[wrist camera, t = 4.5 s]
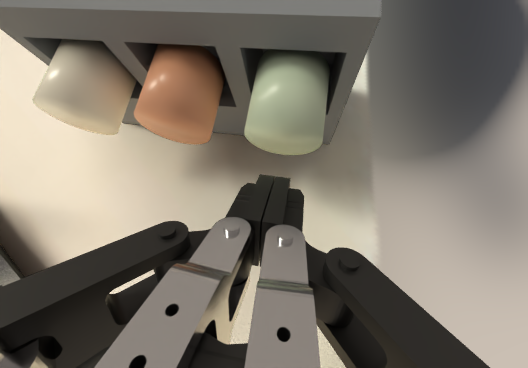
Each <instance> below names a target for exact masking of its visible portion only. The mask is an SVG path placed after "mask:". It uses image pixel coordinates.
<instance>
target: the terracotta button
mask: <svg viewBox="0 0 528 368" xmlns="http://www.w3.org/2000/svg"><path fill="white" fill-rule="evenodd" d="M224 81H225V73H224V70H223V67H222V65H221V63H220V62H219V61H218V59H217V58H216V57H215V56H214V55H213V54H212V53H210V52H209V51H208V50H206V49H205V48H203V47H202V46H199V45H178V44H158V46H157V48H156V51H155V54H154V57H153V59H152V62H151V65H150V68H149V71H148V74H147V76H146V79H145V82H144V85H143V88H142V91H141V93H140V96H139V99H138V102H137V105H136V108H135V110H134V116H135V118H136V120H137V121H138V122H139V123H140V124H141V125H142V126H143V127H145V128H146V129H148V130H149V131H151V132H153V133H155V134H157V135H159V136H161V137H164V138H166V139H169V140H172V141H176V142H180V143H185V144H196V145H197V144H204V143H207V142H208V141H209V140H210V138H211V134H212V130H213V126H214V122H215V118H216V114H217V110H218V106H219V102H220V98H221V94H222V89H223V85H224Z"/></svg>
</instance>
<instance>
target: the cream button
mask: <svg viewBox="0 0 528 368" xmlns="http://www.w3.org/2000/svg"><path fill="white" fill-rule="evenodd" d="M136 81H137V79H136V78H135V77H134V76H133V75H132V74H131V73H130V72H129V70H128V69H127V68H126V67H125V66H124V65H123V64H122V63H121V61H120V60H119V59H118V58H117V57H116V56H115V55H114V54H113V52H112V51H111V50H110V49H109V48H108V47H107V46H106V45H105V44H104V43H102V42H100V41H96V40H75V39H62V40H61V42H60V44H59V46H58V48H57V50H56V52H55V54H54V56H53V58H52V60H51V63H50V65H49V67H48V69H47V71H46V73H45V75H44V77H43V79H42V81H41V83H40V85H39V87H38V89H37V91H36V93H35V95H34V97H33V99H32V100H33V103H34V104H35V105H36V106H37V107H38V108H39V109H41V110H42V111H44V112H45V113H47V114H49V115H50V116H52V117H54V118H56V119H58V120H60V121H62V122H64V123H67V124H69V125H72V126H74V127H77V128H80V129H83V130H86V131H90V132H93V133H98V134H104V135H115V134H117V133H118V131H119V128H120V125H121V123H122V120H123V117H124V114H125V112H126V109H127V106H128V103H129V101H130V98H131V95H132V92H133V90H134V87H135V84H136Z"/></svg>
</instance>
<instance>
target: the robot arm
mask: <svg viewBox="0 0 528 368" xmlns="http://www.w3.org/2000/svg"><path fill="white" fill-rule="evenodd" d="M289 187H290V178H283V177H275V176H268V175H259V178H258V180H257V182H256V184H253V183H247V184H246V185H244V186H243V187H241V189H240V191H239V193H238V195H237V196H236V198H235V200H234V202H233V204H232V206H231V208H230V210H229V211H228V213H227V215H226V217H225V218H224V219H221V220H219V221H218V222H216V223H215V225H214V226H213V227H212V229H209V230H204V231H192V232H189V231H188V227H187V226H186V225H185V224H184V223H182V222H178V221H168V222H163V223H160V224H158V225H155V226H153V227H150V228H148V229H145V230H143V231H140V232H138V233H135V234H133V235H130V236H128V237H125V238H123V239H120V240H118V241H115V242H113V243H110V244H108V245H105V246H103V247H100V248H98V249H95V250H93V251H90V252H87V253H85V254H82V255H80V256H77V257H75V258H72V259H70V260H67V261H65V262H62V263H60V264H57V265H55V266H52V267H50V268H47V269H45V270H42V271H40V272H37V273H35V274H32V275H30V276H27V277H25V278H22V279H20V280H17V281H15V282H12V283H10V284H7V285H5V286H2V287H0V368H320V358H319V347H318V336H317V326H318V327H319V328H320V330H321V331H322V333H323V334H324V336H325V337H326V339H327V340H328V341H329V343H330V344H331V346H332V347H333V349H334V350H335V352H336V353H337V355H338V356H339V357H340V359H341V360H342V362H343V363H344V365H345V366H346V368H490V367H489V366H487V365H486V364H485V363H484V362H483V361H482V360H481V359H479V358H478V357H477V356H476V355H475V354H474V353H473V352H472V351H470V350H469V349H468V348H467V347H466V346H465V345H464V344H462V343H461V342H460V341H459V340H458V339H457V338H456V337H455V336H453V335H452V334H451V333H450V332H449V331H448V330H447V329H445V328H444V327H443V326H442V325H441V324H440V323H439V322H438V321H436V320H435V319H434V318H433V317H432V316H430V314H429V313H427V312H426V311H425V310H424V309H423V308H422V307H420V306H419V305H418V304H417V303H416V302H415V301H414V300H413V299H412V298H410V297H409V296H408V295H407V294H406V293H405V292H403V291H402V290H401V289H400V288H399V287H398V286H397V285H396V284H394V283H393V282H392V281H391V280H390V279H389V278H388V277H387V276H385V275H384V274H383V273H382V272H381V271H380V270H379V269H377V268H376V267H375V266H374V265H373V264H372V263H371V262H370V261H368V260H367V259H366V258H365V257H364V256H363V255H361V254H360V253H358V252H356V251H354V250H352V249H348V248H335V249H332V250H330V251H329V252H328V253H327V254H326V253H324V252H322V251H319V250H317V249H315V248H313V247H312V246H310V245H309V244H308V243H307V242H306V241H305V237H304V235H303V233H302V226H303V207H304V195H303V194H302V192H301V191H300V190H298V189H290V188H289ZM259 261H260V267H261V270H260V277H259V281H258V283H257V288H256V295H255V301H254V308H253V314H252V321H251V328H250V334H249V341H248V343H246V344H230V338H231V333H232V329H233V326H234V323H235V320H236V318H237V315H238V312H239V309H240V307H241V304H242V301H243V299H244V296H245V293H246V290H247V288H248V285H249V282H250V270H251V266H252V265H255V266H258V265H259ZM153 269H154V272H155V274H154V275H152V276H150V277H148V278H146V279H144V280H142V281H140V282H138V283H136V284H134V285H132V286H131V287H129V288H127V289H125V290H123V291H121V292H119V293H116V294H109V293H110V292H111V291H112V290H114V289H115V288H117V287H119V286H121V285H123V284H125V283H127V282H129V281H131V280H133V279H135V278H137V277H139V276H141V275H143V274H145V273H147V272H149V271H151V270H153ZM316 324H317V325H316Z"/></svg>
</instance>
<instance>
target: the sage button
mask: <svg viewBox="0 0 528 368" xmlns="http://www.w3.org/2000/svg"><path fill="white" fill-rule="evenodd" d="M329 75H330V69H329V65H328V63H327V61H326V59H325V58H324V57H323V56H322V55H321V54H320V53H319V52H318V51H302V50H281V49H269V50H268V51H267V52H265V53H264V54H263V55H262V57H261V58H260V60H259V62H258V66H257V71H256V76H255V81H254V86H253V91H252V95H251V100H250V105H249V110H248V115H247V120H246V125H245V130H244V134H245V137H246V138H247V140H248V141H249V142H250V143H252V144H253V145H255V146H256V147H258V148H260V149H262V150H265V151H268V152H272V153H276V154H282V155H302V154H307V153H311V152H313V151H315V150H317V149H318V148H319V147H320V146H321V145H322V142H323V133H324V123H325V114H326V104H327V94H328V85H329Z"/></svg>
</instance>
